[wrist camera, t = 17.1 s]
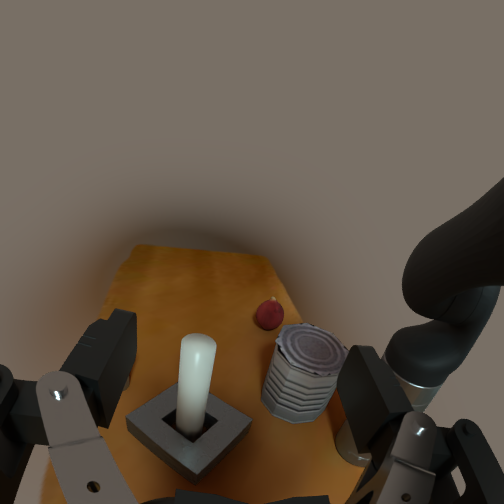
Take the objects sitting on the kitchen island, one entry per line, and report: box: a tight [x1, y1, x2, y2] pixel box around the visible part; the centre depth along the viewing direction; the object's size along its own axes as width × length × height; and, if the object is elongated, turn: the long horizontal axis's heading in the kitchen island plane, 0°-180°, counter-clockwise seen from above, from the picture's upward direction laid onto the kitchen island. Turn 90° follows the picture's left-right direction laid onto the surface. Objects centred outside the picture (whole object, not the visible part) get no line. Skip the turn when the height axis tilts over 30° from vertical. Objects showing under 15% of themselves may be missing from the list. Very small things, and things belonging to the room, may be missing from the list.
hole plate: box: [126, 382, 253, 485], centre depth 35 cm, size 12×12×4 cm
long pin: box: [176, 333, 216, 443], centre depth 33 cm, size 4×4×17 cm
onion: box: [256, 297, 284, 330], centre depth 64 cm, size 6×6×8 cm
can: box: [261, 323, 349, 424], centre depth 44 cm, size 11×11×12 cm
